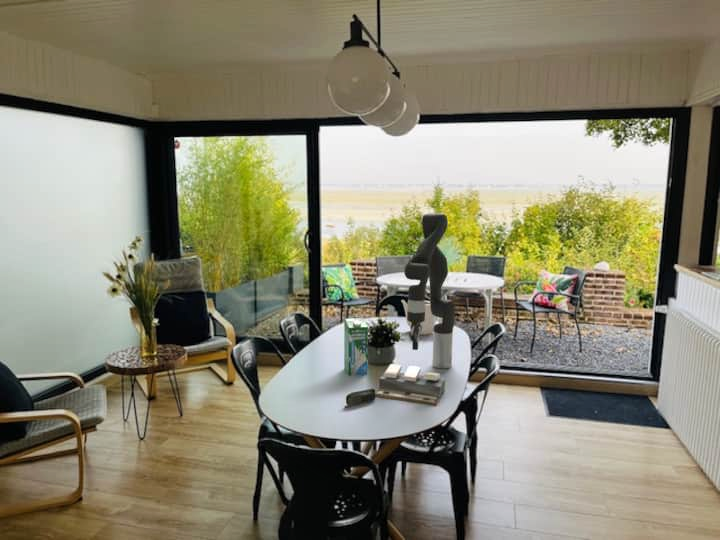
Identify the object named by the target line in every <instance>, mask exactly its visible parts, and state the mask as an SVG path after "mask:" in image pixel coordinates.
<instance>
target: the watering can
mask: <svg viewBox="0 0 720 540" xmlns="http://www.w3.org/2000/svg"><path fill="white" fill-rule="evenodd" d="M400 301H401V303H402V305H403V309H404V312H405V313H404V314H405V318H406V324H407V325H408V326H409V327H410V326H411V324H412V323H411V322H409V321H408V320H407V306H408V303H407V302H406V300H404V299H401V300H400ZM442 320H443V318H440V317H439V321H438V323H437V322H436V321H437V317H436V316H434V315H433V314H432V313H431V308H430V300H425V321H424V322H421V324H420V325H422V330H421V335H423V336H424V335H431V334H432V333H433V332H434V325H436V323H437V324H440V323H442Z"/></svg>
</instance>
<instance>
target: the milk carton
mask: <svg viewBox="0 0 720 540" xmlns="http://www.w3.org/2000/svg"><path fill="white" fill-rule="evenodd" d="M343 322H344V327H343V328H344V329H343V331H344V332H343V334H344V337H343V339H344V340H343V342H344V345H343V346H344V347H343V348H344V351H343V352H344V353H343V354H344V358H343V360H344V361H343V366H344V367H343V368H344V371H345V373H346V374H347V375H348V376H349V377H350V376H358V375H359V376H361V375H368V371H369V370H368V369H369V367H368V364H369V363H368V360H369V358H368V357H369V356H368V355H369V354H368V353H369V350H368V349H369V344H368V343H369V341H368V340H369V336H368V335H369V327H368V325H367V323H366V321H365V319H364V318H363V317H355V318H354V317H351V318H344V321H343Z"/></svg>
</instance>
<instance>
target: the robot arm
mask: <svg viewBox="0 0 720 540" xmlns="http://www.w3.org/2000/svg"><path fill="white" fill-rule="evenodd" d="M448 223H449V221H448V218H447V215H446V214H445V213H441V212H438V213H436V212H435V213H425V214H423V216H422V218H421V228H422V234H423V238H424V239H423V241H421V242H420V243H419V245H418V247H417V249H416V252H415V253H414V255H413V257H412V258H411V259H410V260H409V261H408V262H407V264H406V266H405V267H404V271H403V272H404V273H403V274H404V276H405V278H406V279H408V280H412V281H419V282H418V284H414V285H412V284H411V285H410V286H409V287H408V294H407V295H408V297H407V298H408V299H407V305H408V306H407V320H408V321H409V322H411V323H412V324H411V326H409V329H410V331H408V334H409V338H410V342H411V343H412V350H413V351H417V350H418V349H419V342H420V341H419V340H420V339H421V335H422V334H421V330H422V325H420V324H421V322H424V321H425V301H426V289H427V284H428V281H429V289H430V290H429V294H430V295H429V297H430V298H429V299H430V300H429V301H430V308H431V313H432V314H433V315H434V316H436V318H439V319H440V318H442V323H440V324H438V323H437V324H436V323H435V325H434V331H433V332H432V333H433V335H432V337H433V338H432V339H433V341H432V366H433V367H434V368H437V369H449V368H452V361H453V359H452V358H453V337H454V336H453V335H454V333H453V331H454V330H453V329H454V327H455V320H456V319H455V318H456V317H455V316H456V303H455V302H454V300H451V299H446V298H443V297H442V288H443V285H444V283H445V281H446V279H447V277H448V274H449V269H448V259H447V257H446V256H445V254H444V253H443V251H442V250H441V248H440V247H439V246H438V244H439V243H440V241H441V240H442V238H443V237H444V235H445V233H446V232H447V230H448ZM407 320H406V321H407Z"/></svg>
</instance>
